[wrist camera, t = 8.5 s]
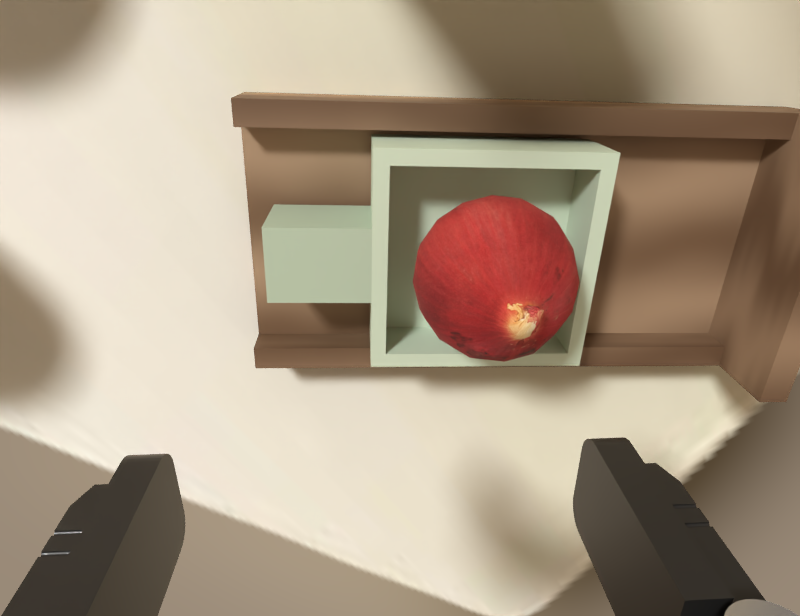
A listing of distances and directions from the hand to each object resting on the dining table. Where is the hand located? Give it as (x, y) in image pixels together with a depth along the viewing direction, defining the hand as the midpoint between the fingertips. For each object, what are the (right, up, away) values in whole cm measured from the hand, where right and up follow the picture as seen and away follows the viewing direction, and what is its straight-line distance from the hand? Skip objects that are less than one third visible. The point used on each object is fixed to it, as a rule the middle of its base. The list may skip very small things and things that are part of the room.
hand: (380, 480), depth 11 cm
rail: (+5, +7, +15) cm, 17 cm away
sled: (+2, +6, +13) cm, 15 cm away
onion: (+3, +6, +13) cm, 15 cm away
